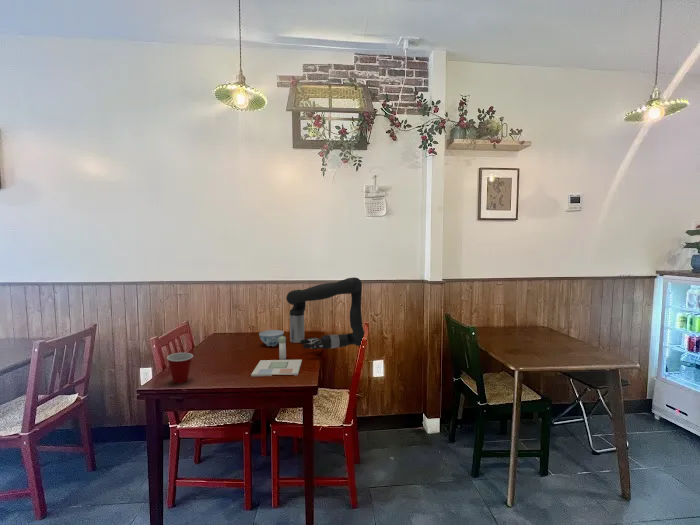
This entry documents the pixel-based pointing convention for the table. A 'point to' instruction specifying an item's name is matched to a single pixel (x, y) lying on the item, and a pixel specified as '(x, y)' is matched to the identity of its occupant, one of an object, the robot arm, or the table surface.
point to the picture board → (277, 367)
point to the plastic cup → (179, 366)
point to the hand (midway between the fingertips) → (301, 344)
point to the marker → (282, 348)
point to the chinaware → (271, 337)
